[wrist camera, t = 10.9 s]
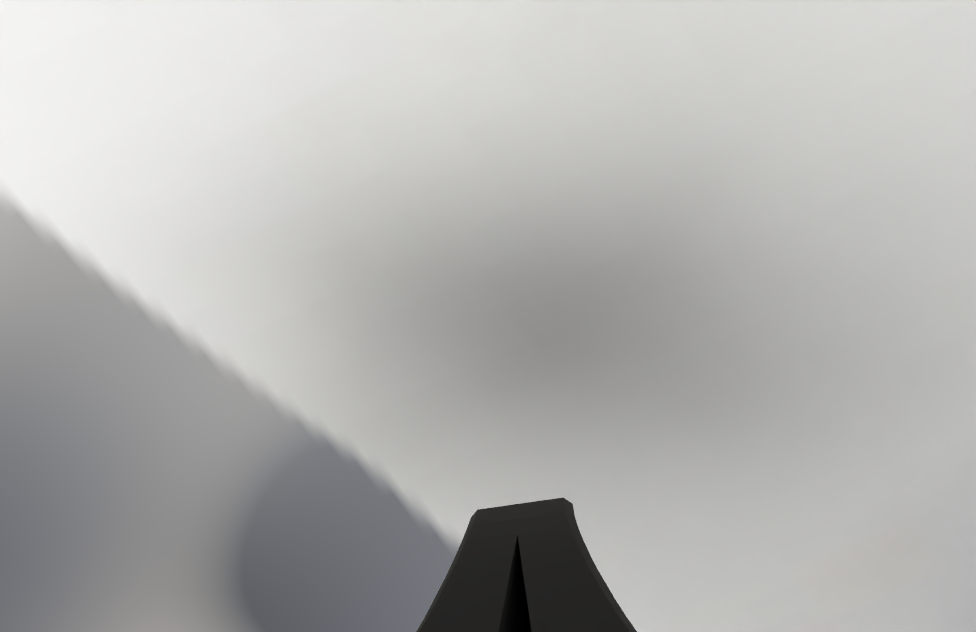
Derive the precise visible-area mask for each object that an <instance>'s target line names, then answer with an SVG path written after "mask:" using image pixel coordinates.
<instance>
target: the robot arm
mask: <svg viewBox="0 0 976 632" xmlns="http://www.w3.org/2000/svg"><path fill="white" fill-rule="evenodd" d="M417 632H637V631H636V630H635V629H634V627H633V626H632V624H631V623H630V621H629V620H628V618H627V617H626V616H625V614H624V613H623V611H622V609H621V608H620V606H619V605H618V603H617V602H616V600H615V599H614V597H613V595H612V593H611V592H610V590H609V588H608V587H607V585H606V583H605V581H604V580H603V578H602V576H601V575H600V573H599V571H598V569H597V568H596V566H595V564H594V562H593V560H592V558H591V556H590V554H589V552H588V550H587V547H586V545H585V543H584V541H583V539H582V536H581V534H580V531H579V529H578V526H577V523H576V520H575V516H574V510H573V504H572V503H571V502H569V501H568V500H566V499H565V498H558V499H551V500H544V501H536V502H529V503H522V504H515V505H508V506H501V507H494V508H487V509H480V510H477V511H476V512H475V514H474V515H473V516H472V517H471V519H470V522H469V525H468V528H467V530H466V533H465V535H464V538H463V540H462V543H461V545H460V547H459V550H458V552H457V554H456V556H455V559H454V561H453V563H452V565H451V567H450V569H449V572H448V574H447V576H446V578H445V580H444V582H443V584H442V586H441V587H440V589H439V591H438V593H437V595H436V597H435V599H434V601H433V603H432V605H431V607H430V609H429V611H428V613H427V615H426V616H425V618H424V620H423V622H422V624H421V625H420V627H419V628H418V630H417Z"/></svg>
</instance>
